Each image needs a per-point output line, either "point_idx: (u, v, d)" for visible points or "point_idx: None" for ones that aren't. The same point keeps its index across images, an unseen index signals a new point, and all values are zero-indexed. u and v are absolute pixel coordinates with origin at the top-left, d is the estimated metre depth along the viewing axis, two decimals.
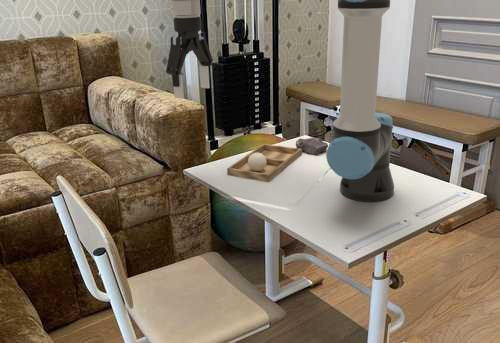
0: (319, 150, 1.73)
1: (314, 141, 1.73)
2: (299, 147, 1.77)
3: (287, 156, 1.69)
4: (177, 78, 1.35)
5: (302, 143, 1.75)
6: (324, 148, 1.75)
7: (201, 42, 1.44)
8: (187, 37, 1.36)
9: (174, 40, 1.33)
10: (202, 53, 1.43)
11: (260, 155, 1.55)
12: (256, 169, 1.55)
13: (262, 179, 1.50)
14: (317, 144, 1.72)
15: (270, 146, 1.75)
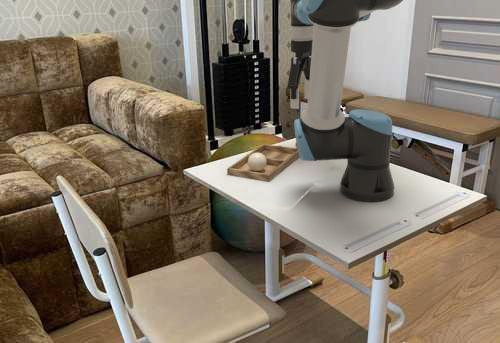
0: None
1: None
2: None
3: (287, 156, 1.69)
4: (295, 92, 1.60)
5: None
6: None
7: None
8: (303, 57, 1.60)
9: (294, 60, 1.57)
10: (310, 69, 1.68)
11: (260, 155, 1.55)
12: (256, 169, 1.55)
13: (262, 179, 1.50)
14: None
15: (270, 146, 1.75)
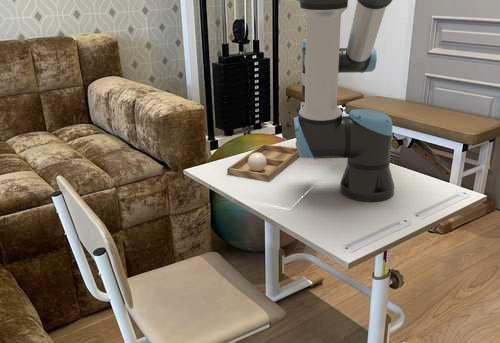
0: None
1: None
2: None
3: (287, 156, 1.69)
4: None
5: None
6: None
7: None
8: None
9: None
10: None
11: (260, 155, 1.55)
12: (256, 169, 1.55)
13: (262, 179, 1.50)
14: None
15: (270, 146, 1.75)
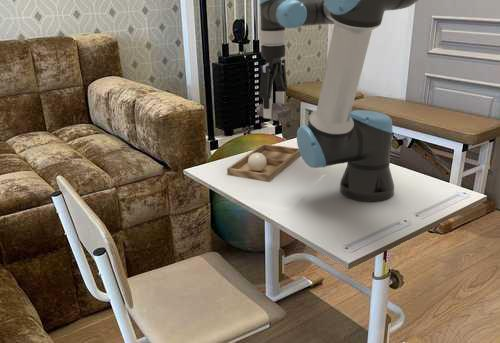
0: (281, 115, 1.59)
1: (276, 106, 1.60)
2: (260, 113, 1.62)
3: (287, 156, 1.69)
4: (268, 101, 1.56)
5: None
6: (287, 113, 1.61)
7: None
8: (273, 62, 1.54)
9: (264, 69, 1.52)
10: (281, 78, 1.61)
11: (260, 155, 1.55)
12: (256, 169, 1.55)
13: (262, 179, 1.50)
14: (279, 108, 1.58)
15: (270, 146, 1.75)
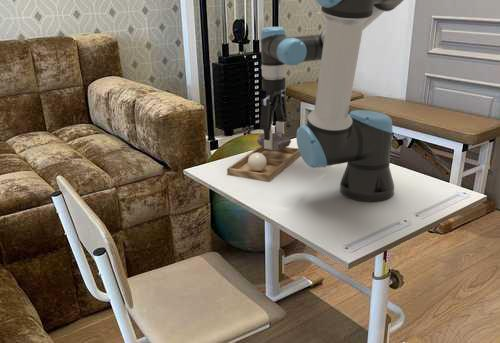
0: (281, 146, 1.63)
1: (276, 136, 1.63)
2: (260, 143, 1.66)
3: (287, 156, 1.69)
4: (268, 133, 1.60)
5: (263, 139, 1.65)
6: (287, 144, 1.65)
7: None
8: (273, 95, 1.58)
9: (264, 102, 1.55)
10: (281, 109, 1.65)
11: (260, 155, 1.55)
12: (256, 169, 1.55)
13: (262, 179, 1.50)
14: (279, 139, 1.62)
15: None
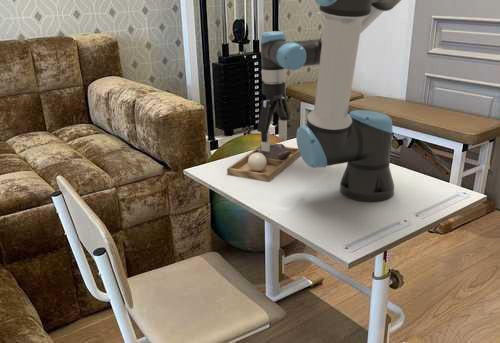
0: (281, 157, 1.64)
1: (276, 147, 1.65)
2: None
3: None
4: (265, 135, 1.58)
5: None
6: (287, 155, 1.66)
7: (282, 101, 1.67)
8: (274, 99, 1.59)
9: (264, 103, 1.55)
10: (283, 110, 1.66)
11: (260, 155, 1.55)
12: (256, 169, 1.55)
13: (262, 179, 1.50)
14: (279, 151, 1.63)
15: None
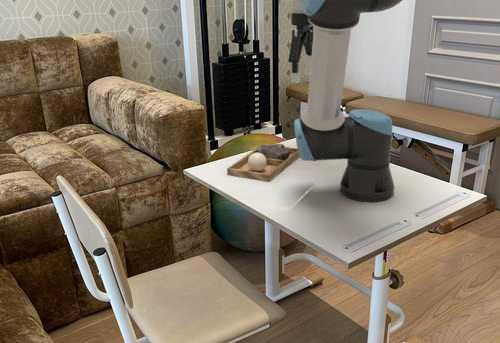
0: (281, 157, 1.64)
1: (276, 148, 1.65)
2: None
3: None
4: (296, 65, 1.56)
5: (263, 150, 1.66)
6: (286, 155, 1.66)
7: None
8: (304, 30, 1.57)
9: (296, 32, 1.54)
10: (311, 44, 1.65)
11: (260, 155, 1.55)
12: (256, 169, 1.55)
13: (262, 179, 1.50)
14: (278, 151, 1.63)
15: None
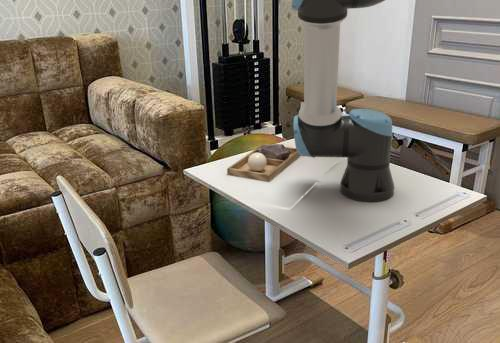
0: (280, 157, 1.64)
1: (275, 148, 1.64)
2: None
3: None
4: None
5: (263, 150, 1.66)
6: (286, 155, 1.66)
7: None
8: None
9: None
10: None
11: (260, 155, 1.55)
12: (256, 169, 1.55)
13: (262, 179, 1.50)
14: (278, 151, 1.63)
15: None
